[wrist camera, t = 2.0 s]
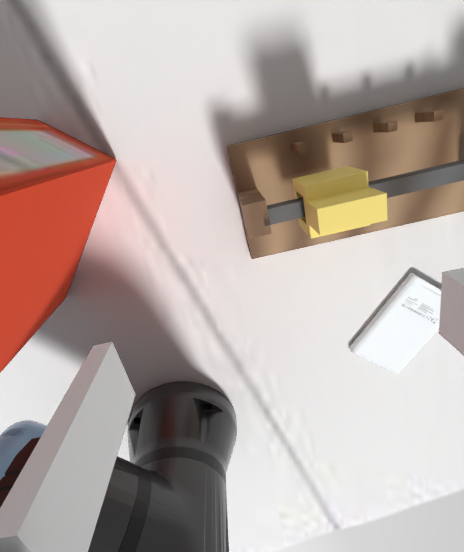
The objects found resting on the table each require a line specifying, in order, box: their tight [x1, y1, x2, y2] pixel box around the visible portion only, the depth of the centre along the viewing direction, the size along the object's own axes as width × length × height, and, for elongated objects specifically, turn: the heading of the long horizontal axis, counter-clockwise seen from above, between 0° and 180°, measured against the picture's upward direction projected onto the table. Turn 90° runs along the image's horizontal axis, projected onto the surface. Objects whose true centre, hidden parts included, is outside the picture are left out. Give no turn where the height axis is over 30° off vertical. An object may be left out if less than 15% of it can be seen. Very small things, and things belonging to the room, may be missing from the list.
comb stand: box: [227, 88, 464, 259], centre depth 30 cm, size 25×12×9 cm, turn 103°
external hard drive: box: [349, 272, 441, 374], centre depth 42 cm, size 2×8×12 cm
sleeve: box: [292, 166, 387, 239], centre depth 27 cm, size 5×4×7 cm
